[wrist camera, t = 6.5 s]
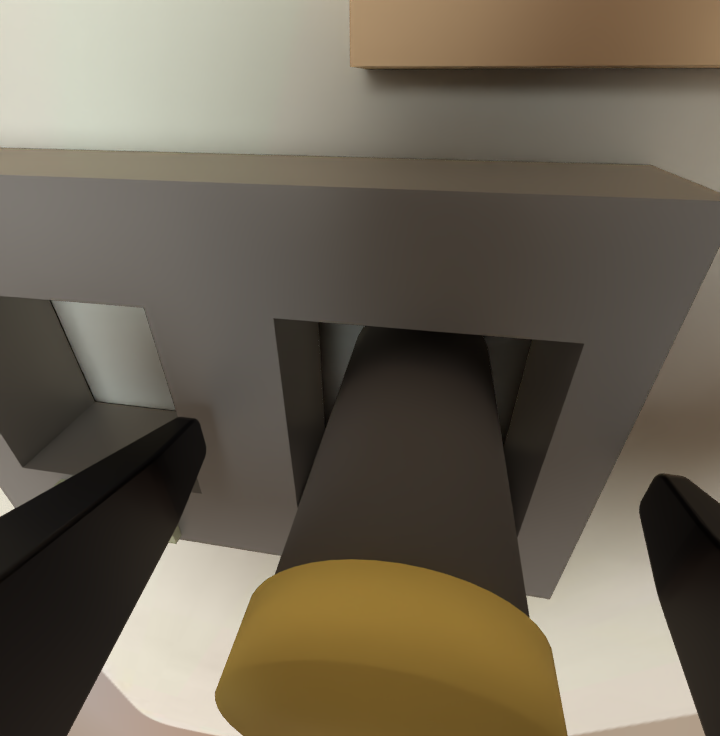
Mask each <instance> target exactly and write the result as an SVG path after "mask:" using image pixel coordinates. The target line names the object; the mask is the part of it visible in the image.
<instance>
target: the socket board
mask: <svg viewBox="0 0 720 736" xmlns="http://www.w3.org/2000/svg"><path fill="white" fill-rule="evenodd" d="M719 247H720V193H719V192H716V191H714V190H712V189H709V188H707V187H704V186H702V185H699V184H697V183H694V182H692V181H689V180H687V179H685V178H682V177H680V176H677V175H675V174H672V173H670V172H667V171H665V170H663V169H660V168H658V167H655V166H653V165H635V164H597V163H559V162H521V161H483V160H445V159H407V158H369V157H331V156H293V155H255V154H216V153H178V152H140V151H102V150H64V149H26V148H0V487H1V489H2V490H3V492H4V493H5V495H6V496H7V497H8V499H9V500H10V502H11V503H12V504H13V506H14V507H15V508H17V507H18V506H20V505H22V504H24V503H26V502H27V501H29V500H31V499H33V498H34V497H36V496H38V495H40V494H42V493H43V492H45V491H47V490H49V489H50V488H52V487H54V486H56V485H57V484H59V483H61V482H63V481H65V480H66V479H68V478H70V477H72V476H73V475H75V474H77V473H79V472H81V471H82V470H84V469H86V468H88V467H89V466H91V465H93V464H95V463H96V462H98V461H100V460H102V459H104V458H105V457H107V456H109V455H111V454H112V453H114V452H116V451H118V450H119V449H121V448H123V447H125V446H127V445H128V444H130V443H132V442H134V441H135V440H137V439H139V438H141V437H142V436H144V435H146V434H148V433H150V432H151V431H153V430H155V429H157V428H158V427H160V426H162V425H164V424H166V423H167V422H169V421H171V420H173V419H174V418H177V417H189V418H195V419H197V420H198V421H199V422H200V425H201V429H202V432H203V436H204V439H205V443H206V456H205V459H204V462H203V464H202V467H201V469H200V472H199V474H198V477H197V479H196V482H195V484H194V487H193V489H192V492H191V494H190V497H189V499H188V502H187V504H186V507H185V509H184V512H183V514H182V516H181V519H180V521H179V523H178V525H177V527H176V529H175V531H174V533H173V535H172V537H171V539H170V541H169V543H174V544H177V542H178V540H179V539H181V540H187V541H193V542H199V543H205V544H212V545H218V546H224V547H230V548H236V549H243V550H249V551H255V552H261V553H267V554H273V555H280V556H282V553H283V550H284V547H285V544H286V541H287V538H288V535H289V533H290V530H291V527H292V524H293V521H294V518H295V515H296V513H297V510H298V507H299V504H300V501H301V498H302V495H303V493H304V490H305V487H306V484H307V481H308V478H309V475H310V472H311V470H312V467H313V464H314V461H315V458H316V455H317V452H318V450H319V447H320V444H321V441H322V438H323V435H324V432H325V430H326V429H325V422H324V405H323V389H322V372H321V356H320V339H319V323H318V322H326V323H339V324H351V325H363V326H375V327H388V328H400V329H412V330H424V331H437V332H449V333H461V334H473V335H486V336H498V337H510V338H522V339H532V342H531V346H530V350H529V354H528V357H527V361H526V365H525V369H524V373H523V376H522V380H521V384H520V388H519V392H518V395H517V399H516V403H515V407H514V410H513V414H512V418H511V422H510V426H509V429H508V433H507V437H506V441H505V445H504V448H503V449H504V455H505V462H506V468H507V475H508V481H509V488H510V494H511V501H512V507H513V514H514V520H515V527H516V533H517V540H518V546H519V553H520V559H521V566H522V572H523V579H524V585H525V592H526V595H527V596H533V597H539V598H546V599H550V598H551V596H552V594H553V592H554V590H555V588H556V585H557V583H558V581H559V579H560V577H561V575H562V573H563V571H564V569H565V567H566V565H567V563H568V561H569V558H570V556H571V554H572V552H573V550H574V548H575V546H576V544H577V542H578V540H579V538H580V536H581V534H582V531H583V529H584V527H585V525H586V523H587V521H588V519H589V517H590V515H591V513H592V511H593V509H594V506H595V504H596V502H597V500H598V498H599V496H600V494H601V492H602V490H603V488H604V486H605V484H606V482H607V479H608V477H609V475H610V473H611V471H612V469H613V467H614V465H615V463H616V461H617V459H618V457H619V455H620V452H621V450H622V448H623V446H624V444H625V442H626V440H627V438H628V436H629V434H630V432H631V430H632V428H633V425H634V423H635V421H636V419H637V417H638V415H639V413H640V411H641V409H642V407H643V405H644V403H645V401H646V398H647V396H648V394H649V392H650V390H651V388H652V386H653V384H654V382H655V380H656V378H657V376H658V374H659V371H660V369H661V367H662V365H663V363H664V361H665V359H666V357H667V355H668V353H669V351H670V349H671V347H672V344H673V342H674V340H675V338H676V336H677V334H678V332H679V330H680V328H681V326H682V324H683V322H684V320H685V317H686V315H687V313H688V311H689V309H690V307H691V305H692V303H693V301H694V299H695V297H696V295H697V293H698V290H699V288H700V286H701V284H702V282H703V280H704V278H705V276H706V274H707V272H708V270H709V268H710V266H711V263H712V261H713V259H714V257H715V255H716V253H717V251H718V249H719ZM50 300H57V301H69V302H81V303H93V304H106V305H118V306H130V307H143V308H144V310H145V313H146V317H147V320H148V323H149V326H150V329H151V332H152V336H153V339H154V342H155V345H156V348H157V352H158V355H159V358H160V361H161V364H162V368H163V371H164V374H165V377H166V380H167V384H168V387H169V390H170V393H171V396H172V399H173V403H174V406H175V409H176V411H169V410H160V409H152V408H143V407H134V406H126V405H117V404H109V403H100V402H95V401H94V399H93V397H92V394H91V392H90V390H89V388H88V386H87V383H86V381H85V379H84V377H83V374H82V372H81V370H80V368H79V365H78V363H77V361H76V359H75V356H74V354H73V352H72V350H71V347H70V345H69V343H68V341H67V338H66V336H65V334H64V332H63V329H62V327H61V325H60V323H59V320H58V318H57V316H56V314H55V311H54V309H53V307H52V305H51V302H50Z"/></svg>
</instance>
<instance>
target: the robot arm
mask: <svg viewBox="0 0 720 736" xmlns="http://www.w3.org/2000/svg"><path fill="white" fill-rule="evenodd" d="M205 456H206V443H205V439H204V436H203V432H202V429H201V425H200V422H199V421H198V420H197V419H195V418H189V417H177V418H174V419H173V420H171V421H169V422H167V423H166V424H164V425H162V426H160V427H158V428H157V429H155V430H153V431H151V432H150V433H148V434H146V435H144V436H142V437H141V438H139V439H137V440H135V441H134V442H132V443H130V444H128V445H127V446H125V447H123V448H121V449H119V450H118V451H116V452H114V453H112V454H111V455H109V456H107V457H105V458H104V459H102V460H100V461H98V462H96V463H95V464H93V465H91V466H89V467H88V468H86V469H84V470H82V471H81V472H79V473H77V474H75V475H73V476H72V477H70V478H68V479H66V480H65V481H63V482H61V483H59V484H57V485H56V486H54V487H52V488H50V489H49V490H47V491H45V492H43V493H42V494H40V495H38V496H36V497H34V498H33V499H31V500H29V501H27V502H26V503H24V504H22V505H20V506H18V507H17V508H15V509H13V510H11V511H10V512H8V513H6V514H4V515H3V516H1V517H0V736H67V735H68V733H69V731H70V729H71V727H72V725H73V723H74V721H75V719H76V718H77V716H78V714H79V712H80V710H81V708H82V706H83V704H84V702H85V700H86V699H87V697H88V695H89V693H90V691H91V689H92V687H93V685H94V683H95V681H96V680H97V677H98V676H99V674H100V672H101V670H102V668H103V666H104V664H105V662H106V661H107V659H108V657H109V655H110V653H111V651H112V649H113V647H114V645H115V643H116V641H117V640H118V638H119V636H120V634H121V632H122V630H123V628H124V626H125V624H126V622H127V621H128V619H129V617H130V615H131V613H132V611H133V609H134V607H135V605H136V603H137V602H138V600H139V598H140V596H141V594H142V592H143V590H144V588H145V586H146V584H147V582H148V581H149V579H150V577H151V575H152V573H153V571H154V569H155V567H156V565H157V563H158V562H159V560H160V558H161V556H162V554H163V552H164V550H165V548H166V546H167V544H168V543H169V541H170V539H171V537H172V535H173V533H174V531H175V529H176V527H177V525H178V523H179V521H180V519H181V516H182V514H183V512H184V509H185V507H186V504H187V502H188V499H189V497H190V494H191V492H192V489H193V487H194V484H195V482H196V479H197V477H198V474H199V472H200V469H201V467H202V464H203V462H204V459H205ZM639 513H640V519H641V523H642V528H643V532H644V537H645V541H646V546H647V550H648V555H649V559H650V564H651V568H652V573H653V577H654V582H655V586H656V590H657V594H658V597H659V600H660V603H661V607H662V610H663V613H664V616H665V619H666V622H667V625H668V627H669V630H670V633H671V636H672V639H673V642H674V645H675V648H676V651H677V654H678V657H679V660H680V663H681V666H682V669H683V672H684V674H685V677H686V680H687V683H688V686H689V689H690V692H691V695H692V698H693V701H694V704H695V707H696V710H697V713H698V716H699V718H700V721H701V724H702V727H703V730H704V733H705V736H720V503H718V502H717V501H716V500H715V499H713V498H712V497H711V496H709V495H708V494H707V493H706V492H704V491H703V490H702V489H700V488H699V487H698V486H697V485H695V484H694V483H693V482H691V481H690V480H689V479H687V478H686V477H683V476H679V475H670V474H658V475H657V476H655V478H654V479H653V481H652V483H651V484H650V486H649V488H648V490H647V491H646V493H645V495H644V497H643V498H642V500H641V502H640V507H639Z"/></svg>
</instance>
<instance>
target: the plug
mask: <svg viewBox="0 0 720 736" xmlns="http://www.w3.org/2000/svg"><path fill="white" fill-rule="evenodd" d="M215 701H216V704H217V707H218V709H219V711H220V712H221V714H222V716H223V717H224V718H225V719H226V720H227V721H228V723H229V724H230V725H231V726H232V727H234V728H235V729H236V730H237V731H238V732H239V733H241V734H242V735H243V736H568V735H567V730H566V725H565V719H564V714H563V708H562V703H561V697H560V692H559V687H558V681H557V676H556V670H555V665H554V659H553V654H552V649H551V647H550V644H549V642H548V640H547V638H546V636H545V635H544V634H543V632H542V631H541V630H540V628H539V627H538V626H537V625H536V624H535V623H534V622H533V621H532V620H531V619H530V618H529V611H528V605H527V598H526V592H525V585H524V579H523V572H522V566H521V559H520V553H519V546H518V540H517V533H516V527H515V520H514V514H513V507H512V501H511V494H510V488H509V481H508V475H507V468H506V462H505V455H504V449H503V442H502V436H501V429H500V423H499V416H498V410H497V403H496V397H495V390H494V384H493V377H492V371H491V364H490V358H489V352H488V347H487V345H486V342H485V339H484V338H483V336H482V335H473V334H461V333H449V332H437V331H424V330H412V329H400V328H388V327H375V326H365V327H364V328H363V329H362V331H361V333H360V334H359V336H358V339H357V341H356V344H355V346H354V349H353V352H352V355H351V358H350V361H349V364H348V367H347V369H346V372H345V375H344V378H343V381H342V384H341V387H340V389H339V392H338V395H337V398H336V401H335V404H334V407H333V409H332V412H331V415H330V418H329V421H328V424H327V427H326V430H325V432H324V435H323V438H322V441H321V444H320V447H319V450H318V452H317V455H316V458H315V461H314V464H313V467H312V470H311V472H310V475H309V478H308V481H307V484H306V487H305V490H304V493H303V495H302V498H301V501H300V504H299V507H298V510H297V513H296V515H295V518H294V521H293V524H292V527H291V530H290V533H289V535H288V538H287V541H286V544H285V547H284V550H283V553H282V556H281V558H280V561H279V564H278V567H277V570H276V573H275V575H274V576H272V577H270V578H268V579H267V580H266V581H264V582H263V583H262V584H261V585H260V586H259V587H258V588H257V589H256V590H255V592H254V593H253V595H252V597H251V599H250V602H249V604H248V607H247V610H246V612H245V615H244V618H243V620H242V623H241V625H240V628H239V631H238V633H237V636H236V639H235V641H234V644H233V647H232V649H231V652H230V654H229V657H228V660H227V662H226V665H225V668H224V670H223V673H222V676H221V678H220V681H219V683H218V686H217V689H216V691H215Z"/></svg>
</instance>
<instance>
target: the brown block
mask: <svg viewBox="0 0 720 736" xmlns="http://www.w3.org/2000/svg"><path fill="white" fill-rule="evenodd" d="M350 67H357V68H363V69H474V68H720V0H350Z"/></svg>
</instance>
